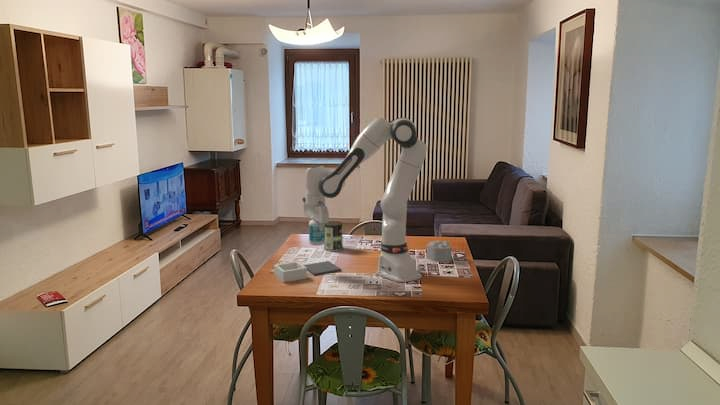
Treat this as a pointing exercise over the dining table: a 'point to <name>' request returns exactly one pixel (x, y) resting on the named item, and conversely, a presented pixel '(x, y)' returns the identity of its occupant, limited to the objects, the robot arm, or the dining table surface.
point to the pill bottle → (316, 233)
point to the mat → (322, 268)
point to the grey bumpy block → (439, 251)
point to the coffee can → (333, 236)
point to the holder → (290, 271)
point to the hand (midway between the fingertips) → (317, 229)
